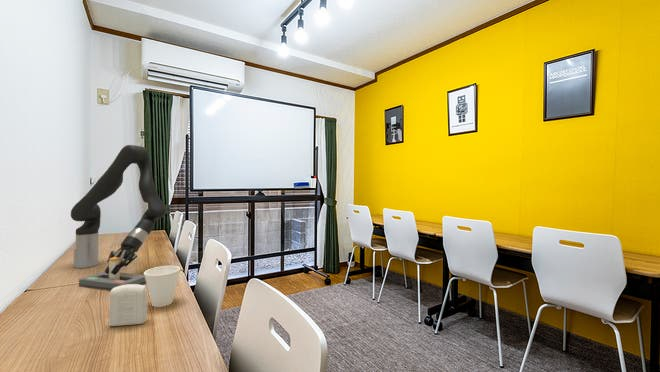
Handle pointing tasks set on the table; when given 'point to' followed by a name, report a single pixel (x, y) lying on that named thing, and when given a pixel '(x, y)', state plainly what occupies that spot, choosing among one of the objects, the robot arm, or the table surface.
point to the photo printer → (128, 305)
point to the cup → (162, 284)
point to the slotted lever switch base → (111, 281)
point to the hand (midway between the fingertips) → (109, 273)
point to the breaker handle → (112, 264)
